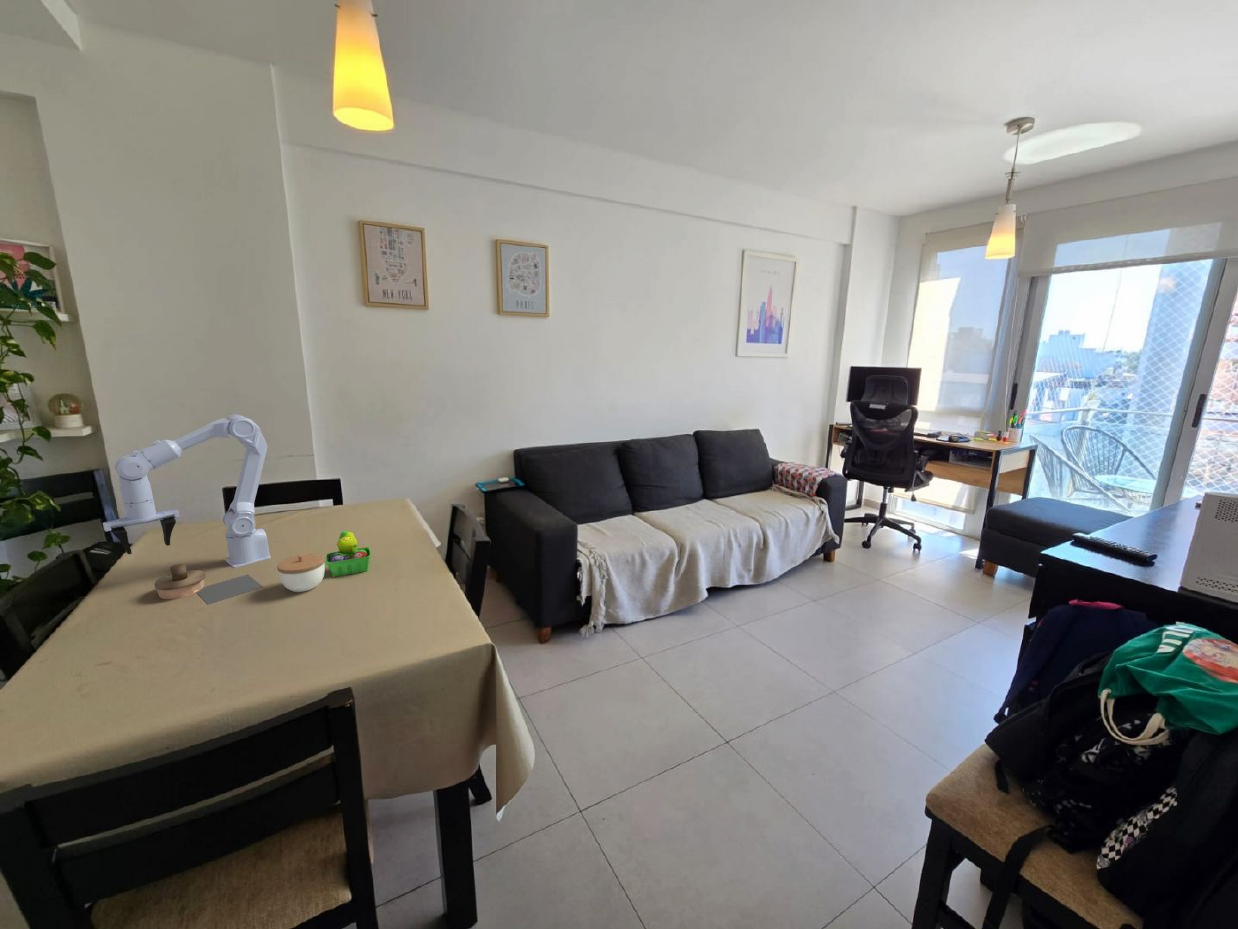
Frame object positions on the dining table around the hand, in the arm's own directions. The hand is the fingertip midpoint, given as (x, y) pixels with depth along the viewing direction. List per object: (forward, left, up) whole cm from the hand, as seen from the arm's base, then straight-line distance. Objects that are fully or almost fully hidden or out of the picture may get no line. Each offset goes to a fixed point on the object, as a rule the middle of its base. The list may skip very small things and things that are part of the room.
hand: (148, 548), depth 133 cm
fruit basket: (-37, +32, -10) cm, 50 cm away
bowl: (-3, +12, -10) cm, 16 cm away
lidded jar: (-24, +34, -10) cm, 43 cm away
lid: (-3, +13, -7) cm, 15 cm away
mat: (-11, +20, -10) cm, 25 cm away
